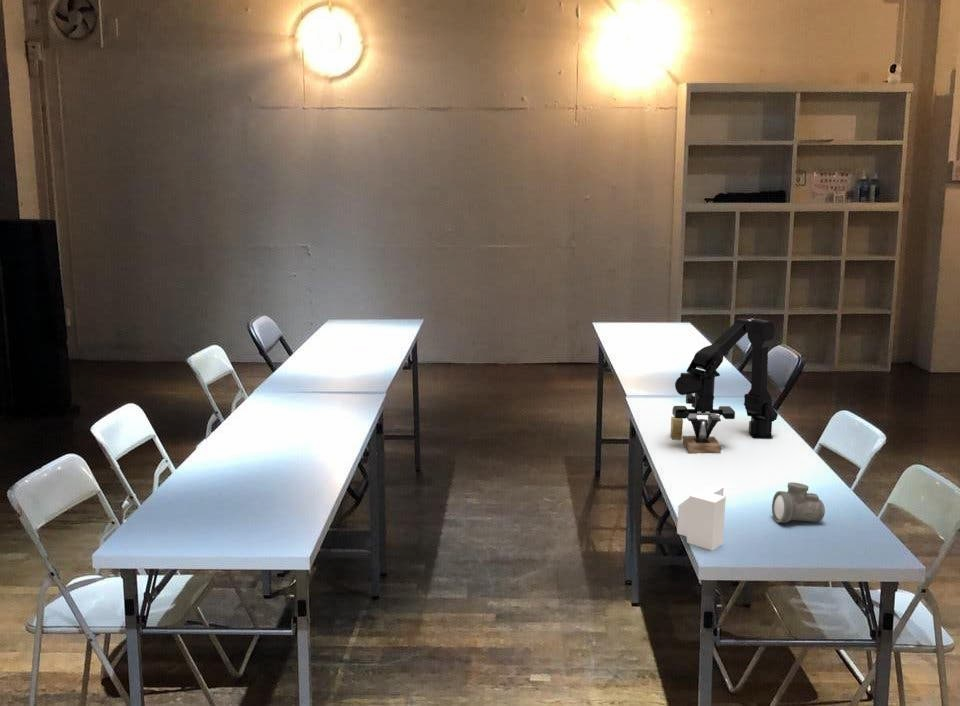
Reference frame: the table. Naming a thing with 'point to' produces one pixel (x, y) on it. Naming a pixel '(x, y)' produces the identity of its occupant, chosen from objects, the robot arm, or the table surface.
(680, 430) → the square bit
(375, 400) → the table surface
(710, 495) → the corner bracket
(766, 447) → the table surface
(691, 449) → the bore block
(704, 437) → the cylinder
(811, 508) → the pipe fitting
